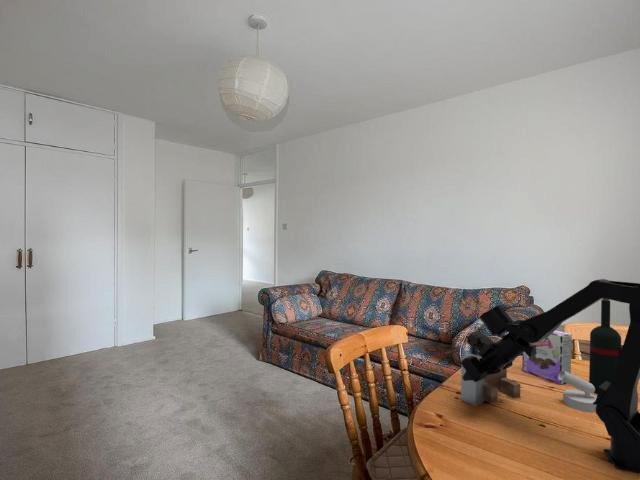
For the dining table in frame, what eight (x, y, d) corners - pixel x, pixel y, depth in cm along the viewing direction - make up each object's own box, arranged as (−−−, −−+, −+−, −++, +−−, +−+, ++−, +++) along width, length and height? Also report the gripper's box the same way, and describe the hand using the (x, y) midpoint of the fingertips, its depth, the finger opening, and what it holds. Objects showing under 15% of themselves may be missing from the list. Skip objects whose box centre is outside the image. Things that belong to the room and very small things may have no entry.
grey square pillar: (483, 401, 103) (484, 357, 103) (475, 406, 101) (475, 360, 101) (469, 396, 107) (469, 353, 107) (461, 400, 104) (461, 356, 104)
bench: (523, 396, 107) (523, 373, 107) (487, 403, 102) (488, 379, 102) (502, 386, 114) (502, 365, 114) (468, 393, 109) (468, 370, 109)
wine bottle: (629, 402, 104) (631, 300, 103) (586, 391, 111) (588, 296, 110) (632, 394, 109) (633, 297, 109) (591, 384, 116) (592, 293, 116)
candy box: (521, 370, 128) (521, 325, 128) (531, 368, 131) (532, 323, 131) (560, 385, 116) (561, 335, 116) (571, 382, 118) (572, 333, 118)
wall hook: (552, 365, 107) (590, 367, 105) (552, 396, 108) (589, 399, 106) (566, 376, 99) (607, 379, 97) (566, 410, 99) (606, 413, 97)
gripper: (502, 320, 106) (467, 347, 115) (467, 329, 95) (432, 359, 104) (530, 353, 100) (491, 379, 109) (496, 367, 89) (456, 395, 98)
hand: (468, 377), depth 105 cm, fingers closed on grey square pillar, 4 cm apart
